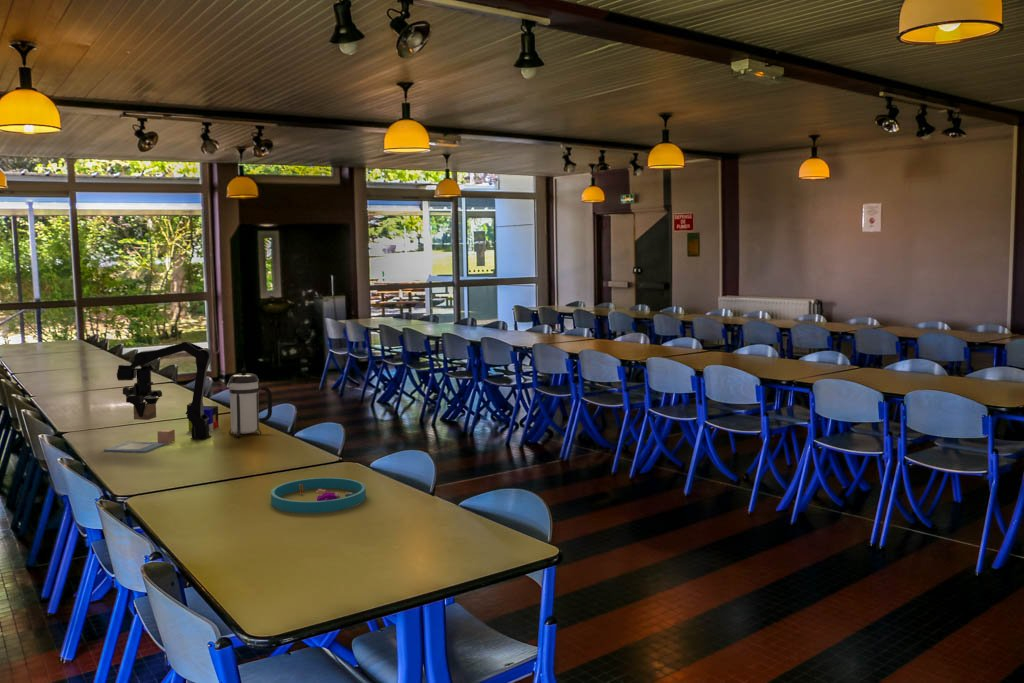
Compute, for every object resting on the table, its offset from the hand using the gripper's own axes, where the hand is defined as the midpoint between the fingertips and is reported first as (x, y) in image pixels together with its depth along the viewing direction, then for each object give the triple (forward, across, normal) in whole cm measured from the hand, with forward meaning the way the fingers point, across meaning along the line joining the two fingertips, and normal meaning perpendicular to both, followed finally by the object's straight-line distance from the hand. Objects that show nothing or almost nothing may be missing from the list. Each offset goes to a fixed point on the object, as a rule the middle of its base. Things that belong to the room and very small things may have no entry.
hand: (145, 415), depth 360 cm
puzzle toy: (+11, -26, +13) cm, 31 cm away
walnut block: (+1, 0, 0) cm, 1 cm away
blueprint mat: (+10, +16, +5) cm, 20 cm away
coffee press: (+10, -18, +38) cm, 44 cm away
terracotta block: (+10, +3, +11) cm, 16 cm away
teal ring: (+11, +79, +107) cm, 134 cm away
